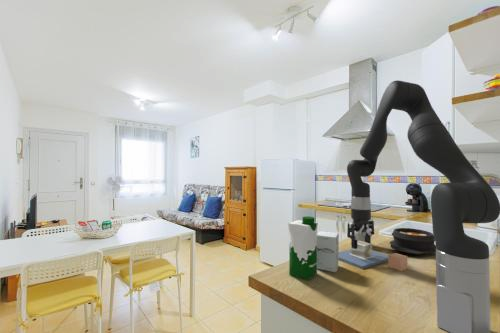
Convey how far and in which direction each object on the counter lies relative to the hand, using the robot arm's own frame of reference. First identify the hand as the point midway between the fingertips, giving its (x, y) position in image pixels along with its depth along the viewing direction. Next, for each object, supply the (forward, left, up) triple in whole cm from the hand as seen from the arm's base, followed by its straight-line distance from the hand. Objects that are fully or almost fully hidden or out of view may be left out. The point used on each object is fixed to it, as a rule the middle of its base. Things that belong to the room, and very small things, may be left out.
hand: (361, 246), depth 99 cm
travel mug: (+16, +12, -5) cm, 21 cm away
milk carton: (-32, 0, -5) cm, 32 cm away
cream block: (0, 0, -4) cm, 4 cm away
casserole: (+30, -5, -5) cm, 31 cm away
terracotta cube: (+3, -13, -5) cm, 14 cm away
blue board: (0, 0, -5) cm, 5 cm away
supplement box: (-20, 0, -5) cm, 20 cm away
